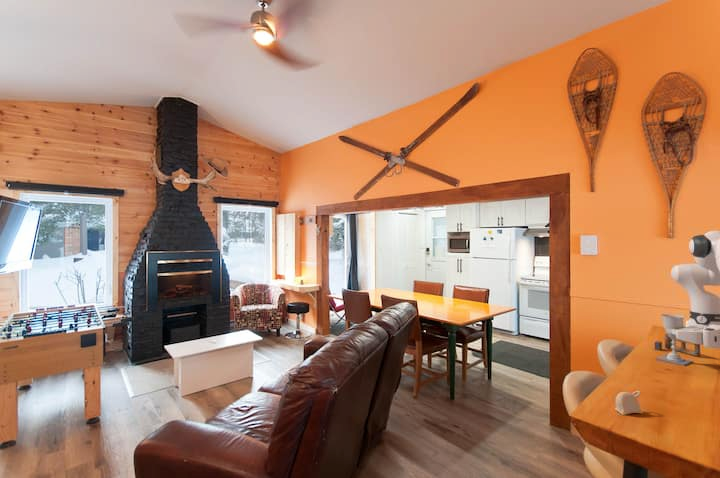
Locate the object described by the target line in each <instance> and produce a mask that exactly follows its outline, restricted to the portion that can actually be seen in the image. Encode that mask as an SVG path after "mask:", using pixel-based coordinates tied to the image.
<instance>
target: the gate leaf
mask: <svg viewBox="0 0 720 478" xmlns="http://www.w3.org/2000/svg"><path fill="white" fill-rule="evenodd" d="M671 339H672V338H671V337H669V336H668V334H667V333H665V334H664V348H666V349H670V350H672V348H671V347H672V345H671ZM676 341H677V342H680V346H677V345H675V346H676V350H675V351H676V352H682V353H686V354H689V355H692V356H696V357H700V356H701V345H700V344H694V343H690V342H686V341H681V340H679V339H677V338H676V339H675V342H676ZM686 344H689V345H692V346H693V347H694V350H692V349H688V348H687V347H686V346H687V345H686Z"/></svg>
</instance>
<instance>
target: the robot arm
mask: <svg viewBox="0 0 720 478" xmlns="http://www.w3.org/2000/svg"><path fill="white" fill-rule="evenodd" d="M688 250H689V251H690V254H691V255H692V256H693V257H694V261H695V262H696V263H681V264H675V265H674V266H673V267H672V268H671V269H670V277H671V279H672V280H673V281H674V282H675V283H677V284H678V285H680V286H681V287H683V289H684V290H685V291H686V292H687V294H688V297H689V302H690V303H689V304H690V310H689V319H688V320H686V322H685V326H683V328H682V329H679V330H676V329H672V328H667V329H666V331H665V332H666V334H667V333H672V334H675V335H676V338H677V339H679V340H681V341H686V342H690V343H694V344H700V346H703V348H708V349H714V348H715V349H719V350H720V297H719V296H718V295H717V294H715V293H713V292H710V291H708V290H705V287H704V286H713V287H715V286H719V287H720V230H710V231H707V232H706V233H705V234H700V235H699V234H698V235H694V236H692V238H691V237H690V241H689V242H688Z"/></svg>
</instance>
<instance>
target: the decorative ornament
mask: <svg viewBox="0 0 720 478" xmlns="http://www.w3.org/2000/svg"><path fill="white" fill-rule="evenodd" d="M640 395H641V391H640V390H635V391H633V392H627V391H621V392H619V393H617V395H616V396H615V406H616V407H615V408H614V409H615V410H616V412H618V413H619V414H620V415H622V416H625V415H629V414H633V413H634V414H635V413H636V414H643V415H644V412H643V411H642V410H641V405H640V403H639V400H638V399H637V398H638V397H640Z"/></svg>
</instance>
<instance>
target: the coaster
mask: <svg viewBox="0 0 720 478" xmlns="http://www.w3.org/2000/svg"><path fill="white" fill-rule="evenodd" d="M667 355H668V354H663V355H660V356H658V357H655V361H661V362H665V363H670V364H674V365H678V366H682V367H683V366H684V367H685V366H687V365H690V364H691V363H693V362H694V361H693V360H692V359H686V358H682V357H681V359H682V360H683V361H673V360H669V359H667V358H666V357H667Z"/></svg>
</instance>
